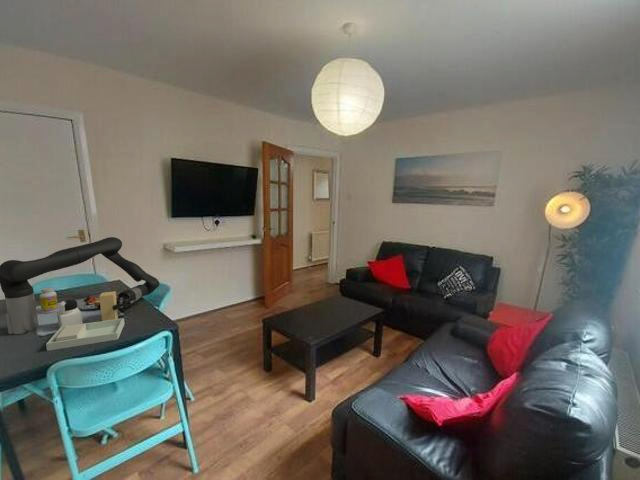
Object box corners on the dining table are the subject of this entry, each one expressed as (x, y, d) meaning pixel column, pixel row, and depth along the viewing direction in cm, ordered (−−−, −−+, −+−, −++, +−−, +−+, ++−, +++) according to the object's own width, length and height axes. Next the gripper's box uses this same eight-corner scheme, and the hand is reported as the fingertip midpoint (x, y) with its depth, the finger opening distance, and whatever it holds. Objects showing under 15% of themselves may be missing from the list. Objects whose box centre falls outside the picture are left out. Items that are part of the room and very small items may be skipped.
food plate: (77, 300, 171) (76, 294, 170) (124, 292, 186) (123, 287, 185) (78, 316, 152) (77, 309, 152) (130, 306, 167) (130, 300, 167)
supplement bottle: (48, 314, 152) (45, 291, 150) (38, 312, 153) (34, 289, 151) (61, 309, 158) (58, 286, 156) (52, 308, 160) (49, 285, 158)
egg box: (56, 347, 120) (55, 338, 120) (67, 333, 131) (66, 325, 130) (78, 343, 123) (76, 335, 122) (86, 331, 134) (85, 323, 133)
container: (79, 321, 145) (76, 297, 143) (83, 326, 140) (80, 301, 138) (58, 327, 139) (55, 301, 137) (62, 332, 134) (58, 306, 132)
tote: (47, 353, 118) (46, 343, 117) (62, 334, 132) (61, 326, 131) (118, 341, 128) (117, 333, 127) (124, 325, 142) (123, 318, 141)
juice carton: (102, 325, 142) (99, 296, 139) (105, 320, 146) (102, 292, 144) (116, 323, 144) (113, 294, 141) (118, 319, 149) (115, 291, 146)
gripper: (117, 288, 158) (91, 299, 142) (142, 290, 156) (118, 301, 140) (118, 301, 159) (92, 314, 143) (143, 303, 158) (120, 315, 142)
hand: (105, 307), depth 142 cm, fingers closed on juice carton, 7 cm apart
